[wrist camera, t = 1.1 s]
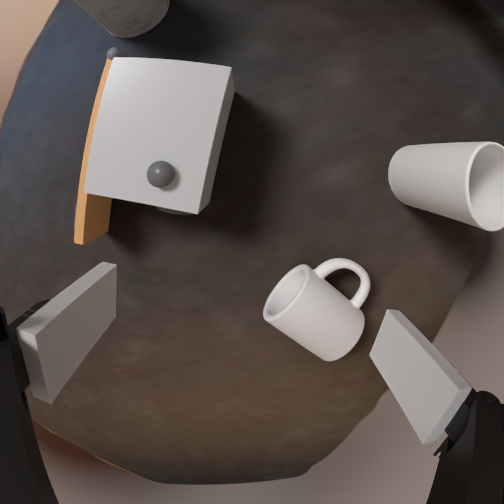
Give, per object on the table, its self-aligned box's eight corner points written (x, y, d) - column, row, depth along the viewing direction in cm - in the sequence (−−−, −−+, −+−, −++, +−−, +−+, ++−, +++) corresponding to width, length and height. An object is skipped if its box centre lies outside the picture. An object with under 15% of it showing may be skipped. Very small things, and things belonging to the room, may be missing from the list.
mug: (314, 339, 41) (326, 373, 34) (260, 301, 39) (263, 332, 32) (372, 277, 39) (398, 301, 31) (322, 231, 37) (341, 247, 29)
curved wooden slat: (127, 66, 30) (104, 47, 23) (141, 66, 30) (120, 47, 23) (96, 228, 36) (67, 242, 29) (109, 231, 36) (82, 245, 29)
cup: (399, 215, 36) (476, 245, 21) (379, 156, 34) (456, 155, 19) (443, 193, 36) (524, 212, 20) (425, 138, 34) (508, 132, 18)
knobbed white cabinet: (141, 79, 31) (110, 55, 22) (234, 90, 32) (231, 64, 23) (117, 192, 35) (78, 202, 26) (207, 210, 36) (194, 225, 26)
